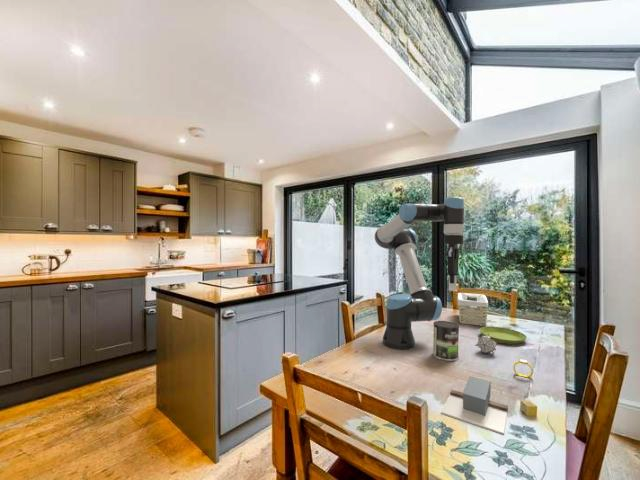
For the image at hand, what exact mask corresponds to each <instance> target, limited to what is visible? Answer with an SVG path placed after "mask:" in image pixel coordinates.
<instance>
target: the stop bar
mask: <svg viewBox="0 0 640 480" xmlns="http://www.w3.org/2000/svg"><path fill="white" fill-rule="evenodd" d="M450 395H454V396H457V397H460V398H463V392H461V391H458V390H456V389H455V390H454V389H451V390H450V391H449V396H450ZM488 406H491V407H494V408H497V409H501V410H504V411H507V413H508V412H509V410H508V409H509V406H508V405H506V404H502V403H500V402H497V401H493V400H489V404H488Z"/></svg>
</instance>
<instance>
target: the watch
mask: <svg viewBox="0 0 640 480" xmlns="http://www.w3.org/2000/svg"><path fill="white" fill-rule="evenodd" d="M517 364H523V365H527V366H529V368H530V373H529V374H527V375H525V374H521V373H519V372H518V371H516V365H517ZM512 369H513V371H514V373H515V375H517V377H523V378H530V377H532V376H533V374H534V369H533V366H532V365H531V364H530V363H529V362H528V360H526V359H519V360H517V361H515V362H514V364H513V367H512Z"/></svg>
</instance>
